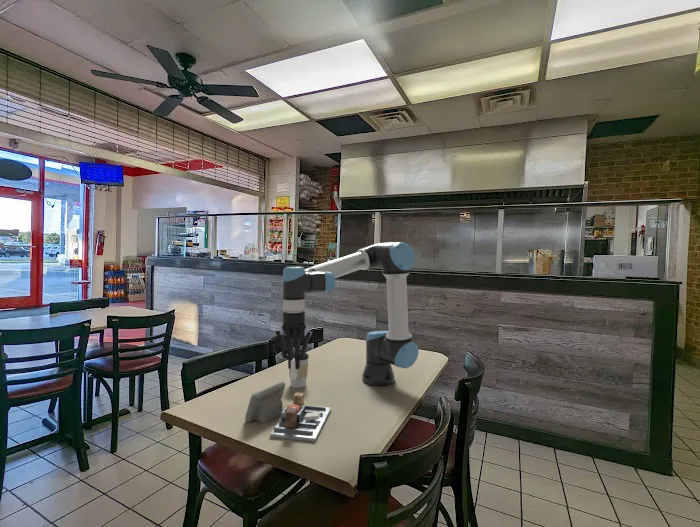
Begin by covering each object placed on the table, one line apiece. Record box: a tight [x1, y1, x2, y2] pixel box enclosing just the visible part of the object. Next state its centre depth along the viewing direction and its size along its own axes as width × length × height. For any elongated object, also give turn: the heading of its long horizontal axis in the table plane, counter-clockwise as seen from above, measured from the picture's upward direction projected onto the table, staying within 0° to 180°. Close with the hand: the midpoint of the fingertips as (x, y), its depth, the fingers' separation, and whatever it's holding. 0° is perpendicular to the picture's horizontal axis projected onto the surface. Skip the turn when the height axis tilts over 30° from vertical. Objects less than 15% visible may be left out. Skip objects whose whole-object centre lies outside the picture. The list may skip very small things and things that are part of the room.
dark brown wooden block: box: [285, 408, 297, 429], centre depth 113 cm, size 3×3×6 cm
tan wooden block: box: [292, 392, 305, 406], centre depth 126 cm, size 3×3×6 cm
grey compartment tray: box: [269, 404, 332, 443], centre depth 119 cm, size 15×22×4 cm
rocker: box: [304, 412, 321, 420], centre depth 119 cm, size 5×3×1 cm, turn 80°
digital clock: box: [244, 381, 286, 424], centre depth 124 cm, size 16×9×11 cm, turn 136°
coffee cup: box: [288, 349, 309, 389], centre depth 154 cm, size 9×9×15 cm
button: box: [286, 403, 300, 413], centre depth 120 cm, size 4×4×3 cm
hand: (294, 377), depth 120 cm, fingers closed
